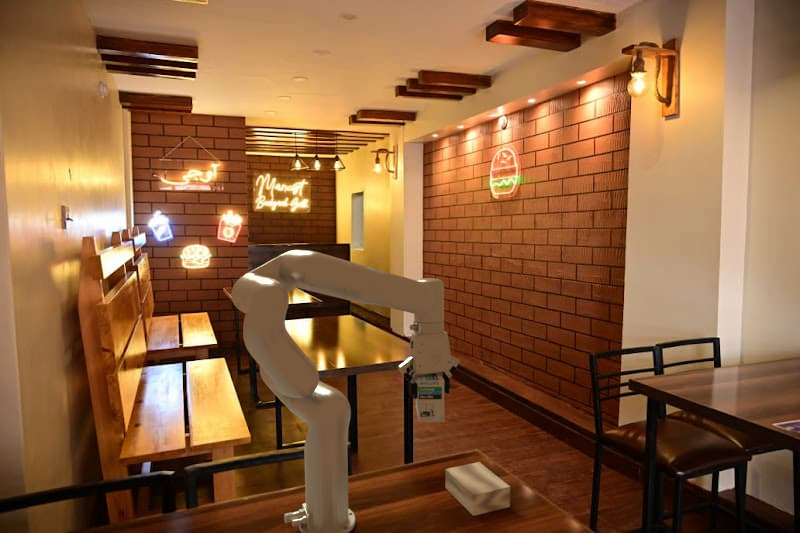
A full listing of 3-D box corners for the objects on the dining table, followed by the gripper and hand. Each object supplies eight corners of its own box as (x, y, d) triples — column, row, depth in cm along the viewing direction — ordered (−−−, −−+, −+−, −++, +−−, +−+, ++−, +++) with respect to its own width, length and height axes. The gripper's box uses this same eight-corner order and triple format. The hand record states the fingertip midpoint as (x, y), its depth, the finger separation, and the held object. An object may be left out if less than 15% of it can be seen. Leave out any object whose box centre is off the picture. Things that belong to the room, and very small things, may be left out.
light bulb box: (445, 422, 128) (445, 379, 127) (417, 423, 128) (417, 380, 127) (440, 407, 139) (440, 367, 138) (414, 408, 138) (414, 368, 138)
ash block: (473, 515, 121) (473, 495, 120) (445, 487, 134) (445, 468, 133) (509, 506, 124) (510, 486, 124) (479, 480, 137) (479, 461, 137)
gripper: (403, 333, 125) (404, 404, 126) (466, 326, 132) (466, 394, 133) (391, 327, 131) (392, 395, 133) (451, 321, 138) (451, 385, 140)
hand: (429, 394), depth 133 cm, fingers closed on light bulb box, 8 cm apart
